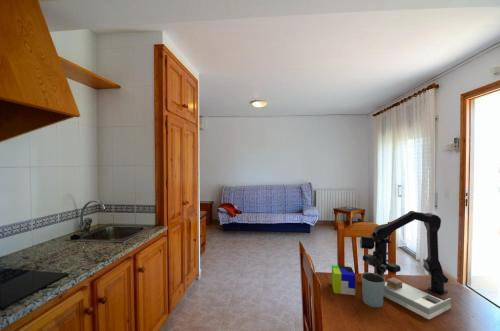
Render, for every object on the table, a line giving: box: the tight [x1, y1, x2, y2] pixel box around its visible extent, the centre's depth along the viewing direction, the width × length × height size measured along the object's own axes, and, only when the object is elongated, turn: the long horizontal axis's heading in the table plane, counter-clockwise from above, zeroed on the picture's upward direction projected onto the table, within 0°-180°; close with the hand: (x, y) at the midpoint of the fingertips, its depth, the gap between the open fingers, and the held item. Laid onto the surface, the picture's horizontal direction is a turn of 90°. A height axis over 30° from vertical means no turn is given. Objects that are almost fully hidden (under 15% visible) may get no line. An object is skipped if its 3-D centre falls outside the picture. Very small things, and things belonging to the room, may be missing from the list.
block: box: [386, 277, 403, 290], centre depth 126 cm, size 5×5×3 cm
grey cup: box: [360, 272, 386, 308], centre depth 115 cm, size 10×10×12 cm
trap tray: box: [383, 281, 452, 320], centre depth 118 cm, size 18×26×4 cm
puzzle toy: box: [331, 264, 356, 296], centre depth 127 cm, size 10×10×10 cm
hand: (380, 278), depth 133 cm, fingers closed
